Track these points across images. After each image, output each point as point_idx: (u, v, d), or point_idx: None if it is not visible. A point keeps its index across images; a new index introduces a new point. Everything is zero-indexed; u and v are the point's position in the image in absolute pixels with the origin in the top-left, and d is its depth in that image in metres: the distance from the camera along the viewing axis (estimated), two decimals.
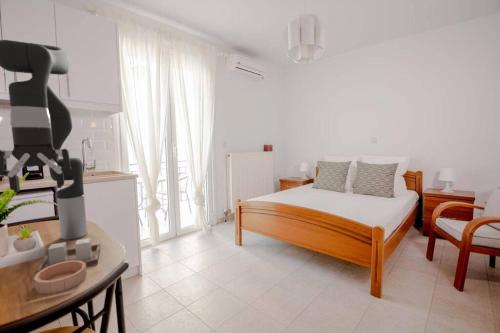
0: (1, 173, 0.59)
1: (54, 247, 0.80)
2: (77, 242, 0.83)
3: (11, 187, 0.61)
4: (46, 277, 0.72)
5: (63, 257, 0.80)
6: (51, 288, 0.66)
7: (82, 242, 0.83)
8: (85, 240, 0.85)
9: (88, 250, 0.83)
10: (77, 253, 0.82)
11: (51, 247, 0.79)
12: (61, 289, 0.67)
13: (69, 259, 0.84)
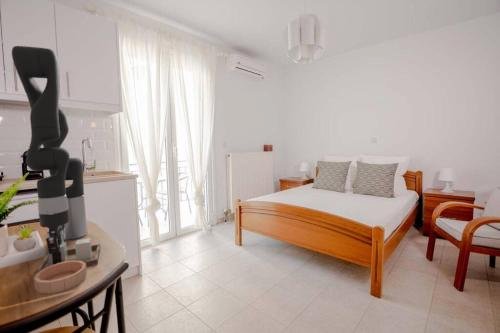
0: None
1: None
2: (77, 242, 0.83)
3: (59, 260, 0.79)
4: (46, 277, 0.72)
5: (63, 257, 0.80)
6: (51, 288, 0.66)
7: (82, 242, 0.83)
8: (85, 240, 0.85)
9: (88, 250, 0.83)
10: (77, 253, 0.82)
11: None
12: (61, 289, 0.67)
13: (69, 259, 0.84)
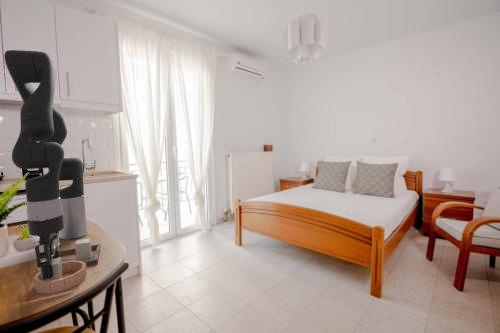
0: None
1: None
2: (77, 242, 0.83)
3: (50, 274, 0.66)
4: None
5: (57, 275, 0.69)
6: (51, 288, 0.66)
7: (82, 242, 0.83)
8: (85, 240, 0.85)
9: (88, 250, 0.83)
10: (77, 253, 0.82)
11: None
12: (61, 289, 0.67)
13: (69, 259, 0.84)
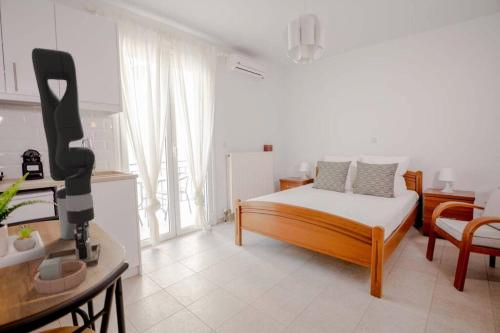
0: None
1: (47, 264, 0.68)
2: None
3: (85, 255, 0.82)
4: None
5: (57, 275, 0.69)
6: (51, 288, 0.66)
7: None
8: None
9: (88, 250, 0.83)
10: (77, 253, 0.82)
11: (43, 264, 0.68)
12: (61, 289, 0.67)
13: (69, 259, 0.84)
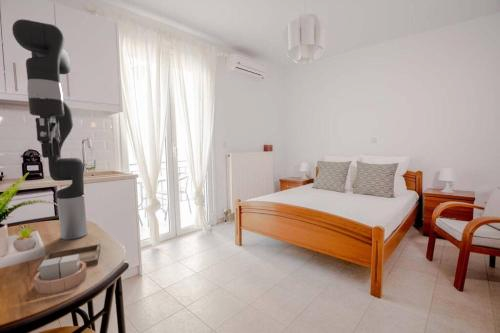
0: (50, 139, 0.65)
1: (47, 264, 0.68)
2: (62, 260, 0.71)
3: (50, 153, 0.67)
4: None
5: (57, 275, 0.69)
6: (51, 288, 0.66)
7: (69, 260, 0.71)
8: (72, 257, 0.72)
9: (75, 269, 0.71)
10: (62, 273, 0.70)
11: (43, 264, 0.68)
12: (61, 289, 0.67)
13: None
